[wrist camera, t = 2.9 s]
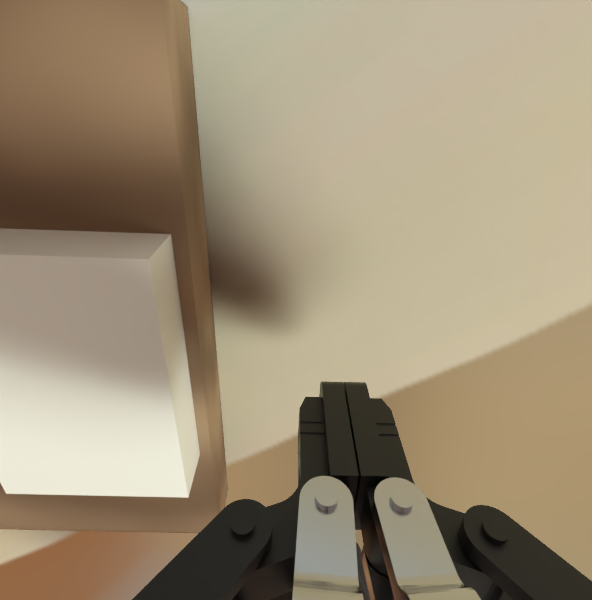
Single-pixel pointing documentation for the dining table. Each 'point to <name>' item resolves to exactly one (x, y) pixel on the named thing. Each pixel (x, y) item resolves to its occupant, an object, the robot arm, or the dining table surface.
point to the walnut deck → (113, 199)
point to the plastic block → (93, 366)
